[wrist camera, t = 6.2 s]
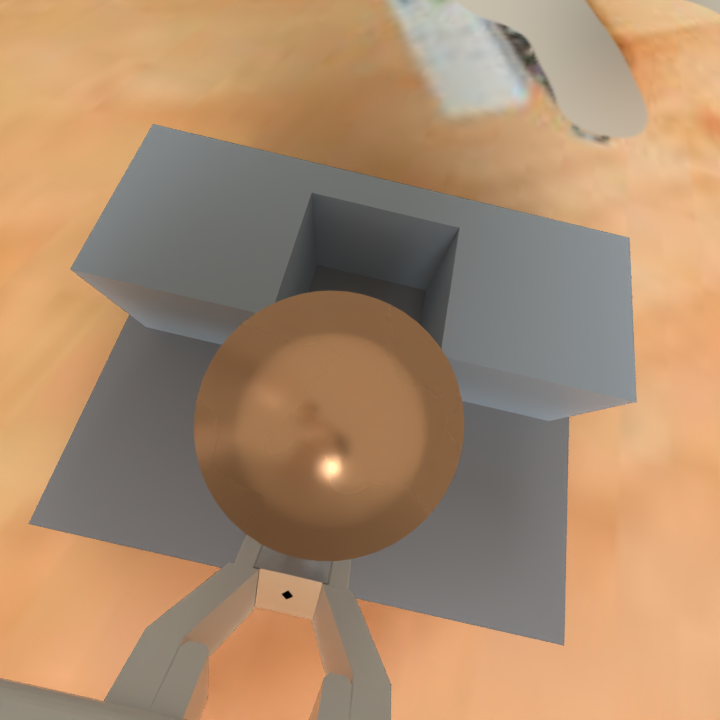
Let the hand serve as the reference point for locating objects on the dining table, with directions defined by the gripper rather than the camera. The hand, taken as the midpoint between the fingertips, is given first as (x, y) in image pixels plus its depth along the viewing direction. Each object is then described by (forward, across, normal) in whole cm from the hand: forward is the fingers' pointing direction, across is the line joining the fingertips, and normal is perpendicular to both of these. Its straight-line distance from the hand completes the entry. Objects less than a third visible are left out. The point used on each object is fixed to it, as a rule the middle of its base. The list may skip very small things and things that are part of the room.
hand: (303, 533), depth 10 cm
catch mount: (+8, 0, 0) cm, 8 cm away
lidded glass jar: (+5, 0, +1) cm, 5 cm away
